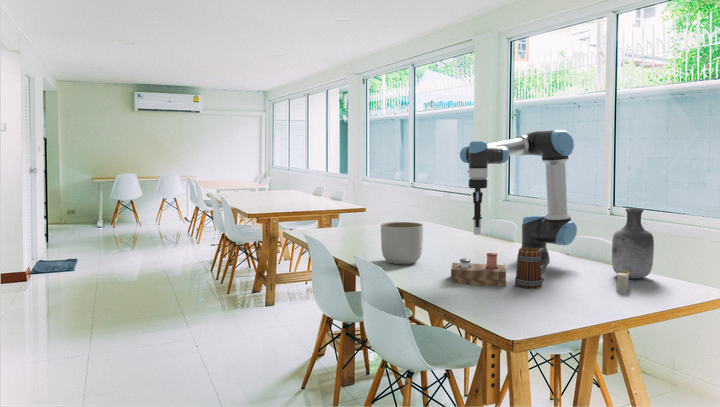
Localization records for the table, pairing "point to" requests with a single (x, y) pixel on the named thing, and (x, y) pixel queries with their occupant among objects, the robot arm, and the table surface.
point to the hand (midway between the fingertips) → (477, 234)
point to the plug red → (491, 260)
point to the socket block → (478, 275)
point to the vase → (633, 247)
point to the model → (622, 281)
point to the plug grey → (464, 263)
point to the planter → (401, 242)
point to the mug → (530, 268)
